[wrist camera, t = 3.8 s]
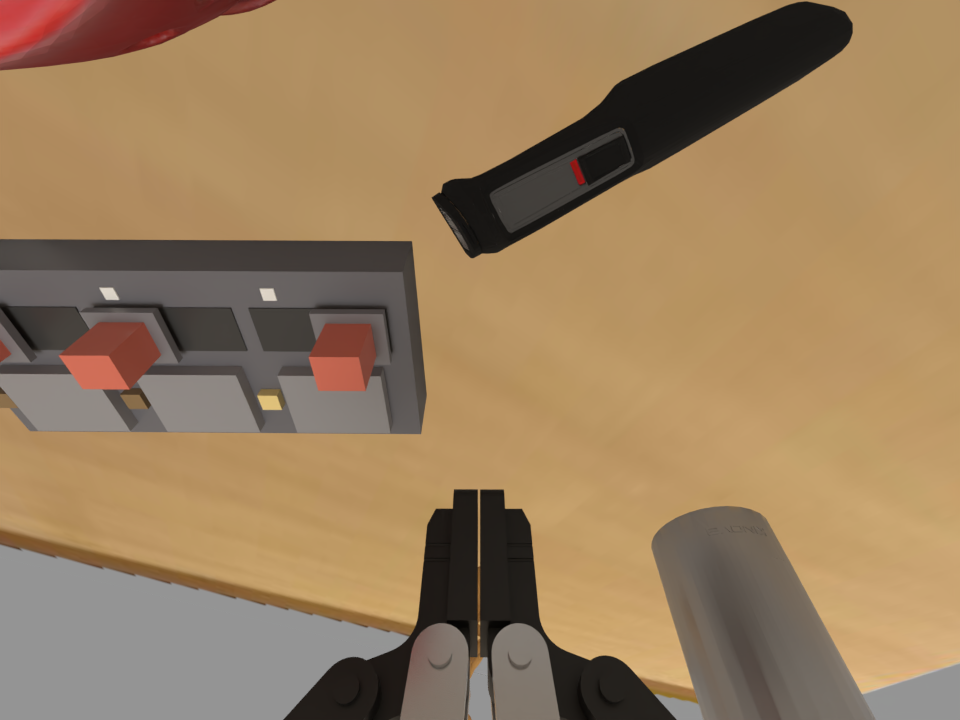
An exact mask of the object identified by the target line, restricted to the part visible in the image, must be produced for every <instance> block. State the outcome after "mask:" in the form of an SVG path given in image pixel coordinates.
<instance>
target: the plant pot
mask: <svg viewBox="0 0 960 720" xmlns="http://www.w3.org/2000/svg"><path fill="white" fill-rule="evenodd" d="M274 1H276V0H0V70H13V69H24V68H36V67H47V66H55V65H63V64H71V63H80V62H87V61H92V60H98V59H104V58H110V57H115V56H119V55H123V54H127V53H131V52H135V51H138V50H142V49H146V48H149V47H153V46H156V45H160V44H162V43H165V42H167V41H169V40H171V39H174V38H176V37H178V36H180V35H183V34H185V33H186V32H188V31H190V30H192V29H195V28H197V27H199V26H201V25H203V24H205V23H207V22H209V21H211V20H213V19H215V18H217V17H219V16H225V15H235V14H240V13H245V12H250V11H253V10H255V9H258V8H261V7H263V6H266V5H268V4H270V3H272V2H274Z"/></svg>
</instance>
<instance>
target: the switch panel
mask: <svg viewBox="0 0 960 720" xmlns="http://www.w3.org/2000/svg"><path fill="white" fill-rule="evenodd" d="M0 308H1V310H2V311H3V312H4V314H5V315H6V316H7V318H8V319H9V320H10V322H11V323H12V324H13V326H14V327H15V328H16V330H17V331H18V332H19V334H20V335H21V336H22V338H23V339H24V340H25V341H26V343H27V344H28V345H29V347H30V348H31V349H32V351H33V352H34V353H35V355H36V356H37V358H36V359H35V360H33V361H32V362H31V363H26V362H0V408H10V409H11V410H12V411H13V413H14V414H15V415H16V416H17V417H18V418H19V419H20V421H21V422H22V423H23V424H24V425H25V426H26V427H27V429H28V430H29V431H58V432H191V433H325V434H421V431H422V425H423V418H424V411H425V404H426V398H427V392H426V382H425V371H424V361H423V350H422V340H421V329H420V319H419V308H418V298H417V288H416V277H415V267H414V256H413V246H412V241H292V240H83V239H0ZM84 308H158V310H159V312H160V314H161V316H162V318H163V320H164V322H165V324H166V326H167V328H168V330H169V332H170V334H171V336H172V337H173V339H174V341H175V343H176V345H177V347H178V349H179V351H180V353H181V355H182V357H183V359H182V360H181V361H180V362H179V363H154V364H153V365H152V366H151V367H150V368H149V369H148V370H147V371H146V372H145V373H144V374H143V376H142V377H141V378H140V379H139V380H138V381H137V382H136V383H135V384H134V385H133V386H132V388H131V389H130V390H128V389H82V388H81V386H80V385H79V383H78V382H77V381H76V379H75V378H74V376H73V375H72V374H71V372H70V371H69V369H68V368H67V367H66V365H65V364H64V362H63V361H62V360H61V358H60V357H59V355H60V354H61V353H62V352H63V351H65V350H66V349H67V348H68V347H69V346H71V345H72V344H73V343H74V342H75V341H77V340H78V339H79V338H80V337H81V336H83V335H84V334H85V333H86V332H87V331H89V330H90V329H89V328H88V326H87V324H86V323H85V321H84V320H83V318H82V317H81V315H80V313H79V312H80V311H82V310H83V309H84ZM311 309H385V316H386V323H387V329H388V336H389V343H390V349H391V356H392V362H391V365H374V366H373V369H372V372H371V376H370V379H369V382H368V385H367V389H366V391H318V388H317V384H316V381H315V377H314V374H313V370H312V367H311V364H310V360H309V355H310V353H311V351H312V349H313V347H314V345H315V343H316V338H315V334H314V331H313V327H312V323H311V319H310V316H309V313H310V311H311Z"/></svg>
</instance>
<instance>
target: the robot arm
mask: <svg viewBox="0 0 960 720" xmlns="http://www.w3.org/2000/svg"><path fill="white" fill-rule="evenodd" d="M651 549H652V552H653V555H654V558H655V562H656V565H657V568H658V572H659V575H660V578H661V581H662V585H663V588H664V591H665V595H666V598H667V602H668V605H669V608H670V612H671V615H672V618H673V622H674V625H675V628H676V631H677V635H678V638H679V641H680V645H681V648H682V651H683V654H684V658H685V661H686V664H687V668H688V671H689V674H690V677H691V681H692V684H693V687H694V691H695V694H696V697H697V701H698V704H699V707H700V710H701V714H702V717H703V720H876V719H875V717H874V715H873V713H872V712H871V710H870V708H869V706H868V704H867V702H866V701H865V699H864V697H863V695H862V693H861V691H860V690H859V688H858V686H857V684H856V682H855V680H854V679H853V677H852V675H851V673H850V671H849V669H848V668H847V666H846V664H845V662H844V660H843V658H842V657H841V655H840V653H839V651H838V649H837V647H836V645H835V644H834V642H833V640H832V638H831V636H830V634H829V633H828V631H827V629H826V627H825V625H824V623H823V622H822V620H821V618H820V616H819V614H818V612H817V611H816V609H815V607H814V605H813V603H812V601H811V600H810V598H809V596H808V594H807V592H806V590H805V589H804V587H803V585H802V583H801V581H800V579H799V577H798V576H797V574H796V572H795V570H794V568H793V566H792V564H791V563H790V561H789V559H788V557H787V555H786V554H785V552H784V550H783V548H782V546H781V544H780V543H779V541H778V539H777V537H776V535H775V534H774V532H773V530H772V528H771V526H770V525H769V523H768V521H767V519H766V518H765V517H764V516H763V515H761V514H760V513H758V512H756V511H754V510H752V509H748V508H743V507H735V506H718V507H710V508H704V509H699V510H696V511H692V512H689V513H686V514H684V515H681V516H679V517H677V518H675V519H673V520H671V521H670V522H668V523H666V524H665V525H664V526H663V527H662V528H660V529H659V530H658V532H657V533H656V534H655V535H654V537H653V540H652V543H651ZM470 657H478V489H454V494H453V509H435V511H434V513H433V515H432V517H431V519H430V520H429V522H428V524H427V532H426V542H425V552H424V562H423V572H422V582H421V592H420V602H419V612H418V619H417V623H416V626H415V628H414V630H413V632H412V633H411V635H410V636H409V638H408V639H407V640H406V641H405V642H404V643H403V644H402V645H400V646H399V647H397V648H396V649H394V650H391V651H389V652H387V653H384V654H381V655H379V656H376V657H374V658H371V659H368V660H365V659H363V658H360V657H348V658H345V659H342V660H340V661H338V662H337V663H335V664H334V665H333V666H332V667H331V668H330V669H329V670H328V671H327V672H326V673H325V674H324V675H323V676H322V677H321V678H320V679H319V681H318V682H317V683H316V684H315V685H314V686H313V687H312V688H311V689H310V691H309V692H308V693H307V694H306V695H305V696H304V697H303V698H302V699H301V700H300V702H299V703H298V704H297V705H296V706H295V707H294V708H293V709H292V710H291V712H290V713H289V714H288V715H287V716H286V717H285V718H284V719H283V720H468V712H469V699H470ZM480 657H487V665H488V691H489V695H490V699H491V712H492V720H677V719H676V718H675V717H674V716H673V715H672V714H671V713H670V712H669V710H668V709H667V708H666V707H665V706H664V705H663V704H662V703H661V702H660V701H659V699H658V698H657V697H656V696H655V695H654V694H653V693H652V692H651V691H650V689H649V688H648V687H647V686H646V685H645V684H644V683H643V682H642V681H641V679H640V678H639V677H638V676H637V675H636V674H635V673H634V672H633V671H632V669H631V668H630V667H629V666H628V665H627V664H625V663H624V662H623V661H621V660H619V659H618V658H615V657H612V656H607V655H603V656H598V657H595V658H593V659H591V660H588V659H586V658H583V657H581V656H578V655H575V654H573V653H570V652H568V651H565V650H563V649H561V648H560V647H558V646H557V645H555V644H554V643H553V642H552V641H551V640H550V639H549V637H548V636H547V635H546V633H545V632H544V629H543V627H542V625H541V622H540V617H539V607H538V597H537V586H536V576H535V565H534V555H533V547H532V534H531V525H530V523H529V521H528V519H527V517H526V515H525V513H524V512H523V510H522V509H505V496H504V489H480Z"/></svg>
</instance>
